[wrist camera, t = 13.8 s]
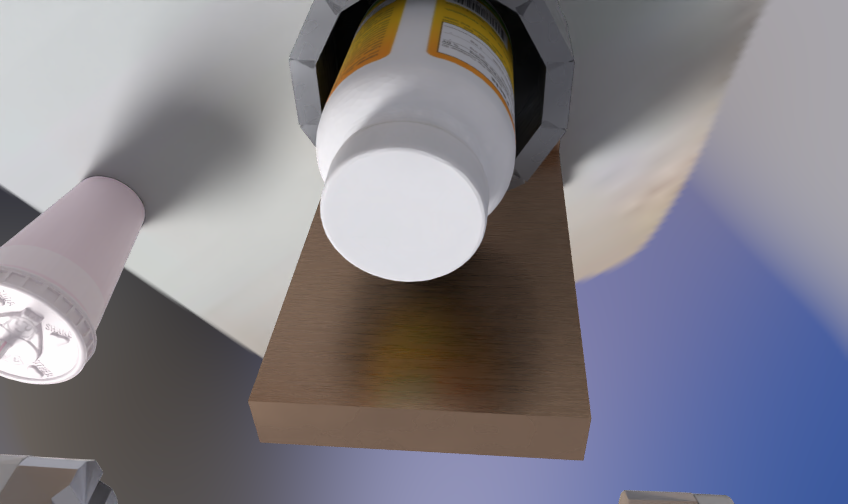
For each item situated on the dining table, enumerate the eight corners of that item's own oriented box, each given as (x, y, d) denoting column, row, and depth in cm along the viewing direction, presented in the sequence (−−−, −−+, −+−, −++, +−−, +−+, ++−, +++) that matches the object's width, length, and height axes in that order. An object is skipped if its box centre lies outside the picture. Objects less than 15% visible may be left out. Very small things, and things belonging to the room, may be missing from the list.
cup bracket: (314, -119, 26) (147, 51, 14) (583, -123, 26) (659, 54, 13) (349, 187, 35) (265, 461, 23) (551, 192, 34) (579, 479, 22)
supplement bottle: (365, 125, 26) (309, 304, 18) (346, -24, 23) (267, 120, 15) (512, 123, 25) (515, 306, 18) (514, -31, 22) (520, 116, 14)
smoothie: (27, 199, 37) (-168, 408, 26) (87, 129, 34) (-106, 333, 23) (130, 270, 40) (-9, 487, 29) (194, 212, 37) (65, 430, 26)
